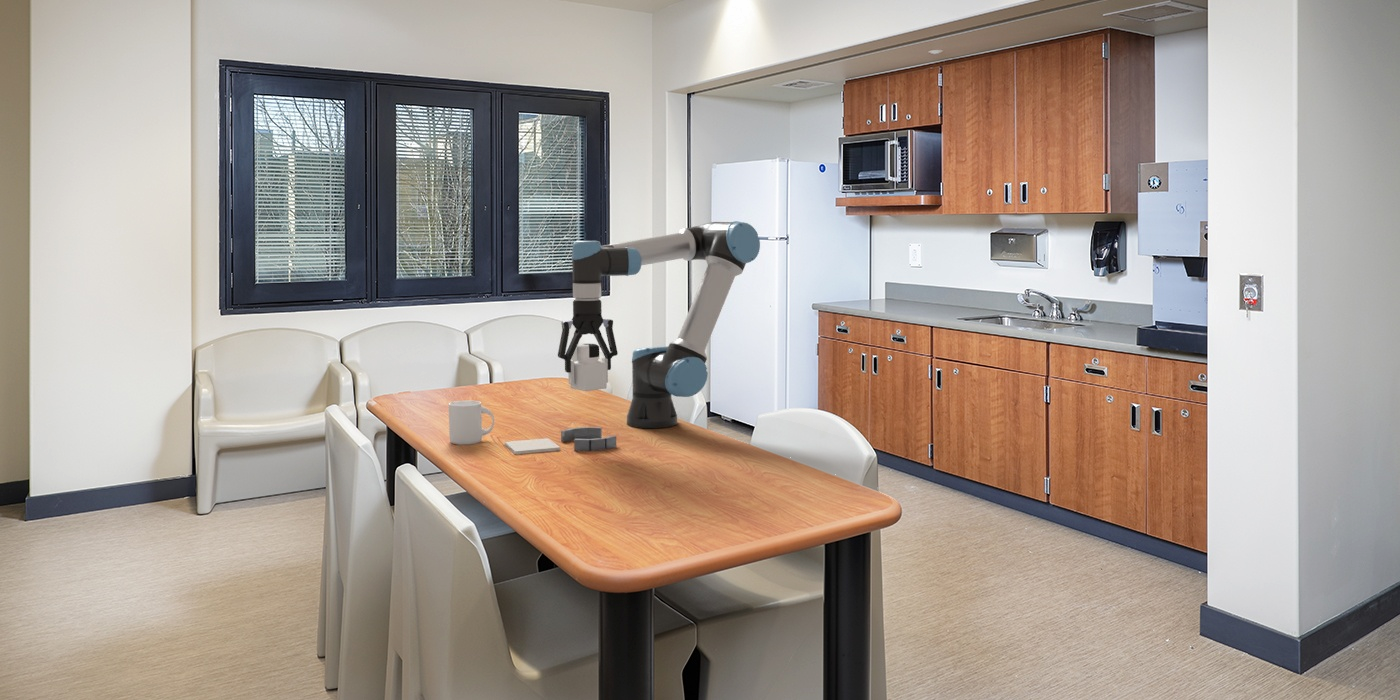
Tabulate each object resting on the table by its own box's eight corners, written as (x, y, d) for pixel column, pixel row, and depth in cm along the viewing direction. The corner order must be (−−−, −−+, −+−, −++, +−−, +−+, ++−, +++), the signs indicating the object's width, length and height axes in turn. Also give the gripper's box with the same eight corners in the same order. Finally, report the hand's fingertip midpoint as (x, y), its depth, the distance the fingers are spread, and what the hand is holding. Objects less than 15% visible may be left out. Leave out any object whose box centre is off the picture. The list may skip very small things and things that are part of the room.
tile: (548, 441, 264) (547, 438, 264) (560, 450, 253) (560, 447, 253) (504, 444, 259) (504, 441, 259) (515, 454, 248) (515, 451, 248)
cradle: (599, 436, 270) (599, 425, 270) (619, 448, 255) (619, 437, 255) (559, 439, 265) (558, 429, 265) (576, 452, 250) (576, 441, 250)
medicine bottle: (590, 385, 263) (590, 341, 262) (607, 388, 258) (606, 344, 257) (569, 388, 258) (569, 344, 257) (586, 391, 253) (585, 346, 252)
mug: (496, 443, 261) (496, 404, 260) (451, 446, 257) (450, 406, 256) (492, 436, 269) (491, 398, 268) (448, 439, 265) (447, 401, 264)
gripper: (620, 297, 263) (621, 378, 266) (543, 299, 254) (545, 383, 257) (630, 298, 256) (630, 382, 259) (551, 301, 248) (553, 388, 250)
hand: (588, 383), depth 258 cm, fingers closed on medicine bottle, 9 cm apart
